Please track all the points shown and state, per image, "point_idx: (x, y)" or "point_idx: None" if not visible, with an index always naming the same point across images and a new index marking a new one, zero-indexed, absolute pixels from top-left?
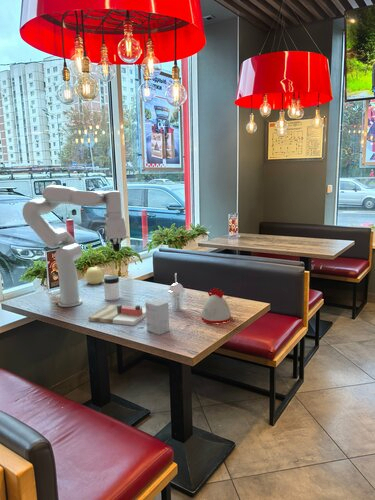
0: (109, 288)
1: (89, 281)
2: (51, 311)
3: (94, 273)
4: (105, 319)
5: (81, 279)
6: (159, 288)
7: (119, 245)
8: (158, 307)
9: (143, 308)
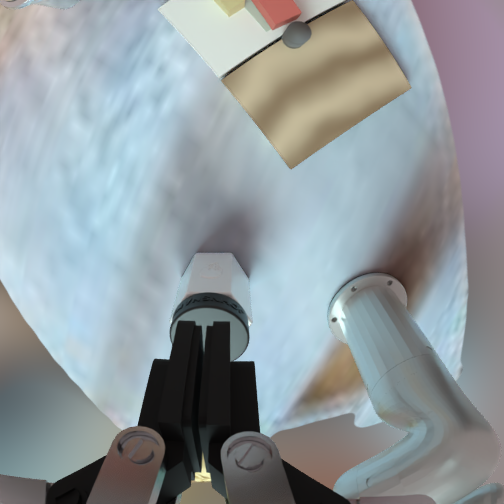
0: (235, 285)
1: None
2: (441, 268)
3: None
4: (368, 23)
5: None
6: (25, 274)
7: (143, 404)
8: None
9: (180, 23)
